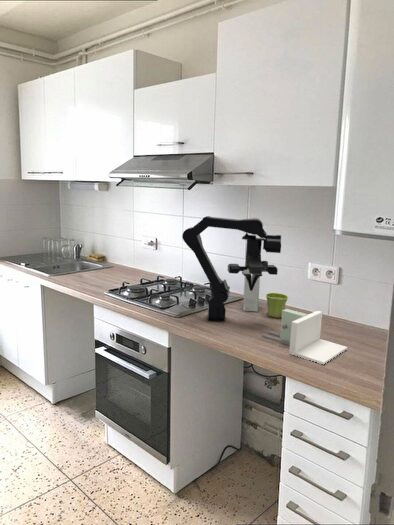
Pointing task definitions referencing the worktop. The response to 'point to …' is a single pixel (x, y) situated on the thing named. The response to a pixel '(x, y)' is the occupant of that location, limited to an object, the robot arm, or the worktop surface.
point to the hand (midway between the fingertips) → (250, 290)
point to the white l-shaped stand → (309, 340)
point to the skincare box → (251, 296)
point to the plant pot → (276, 304)
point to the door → (288, 323)
